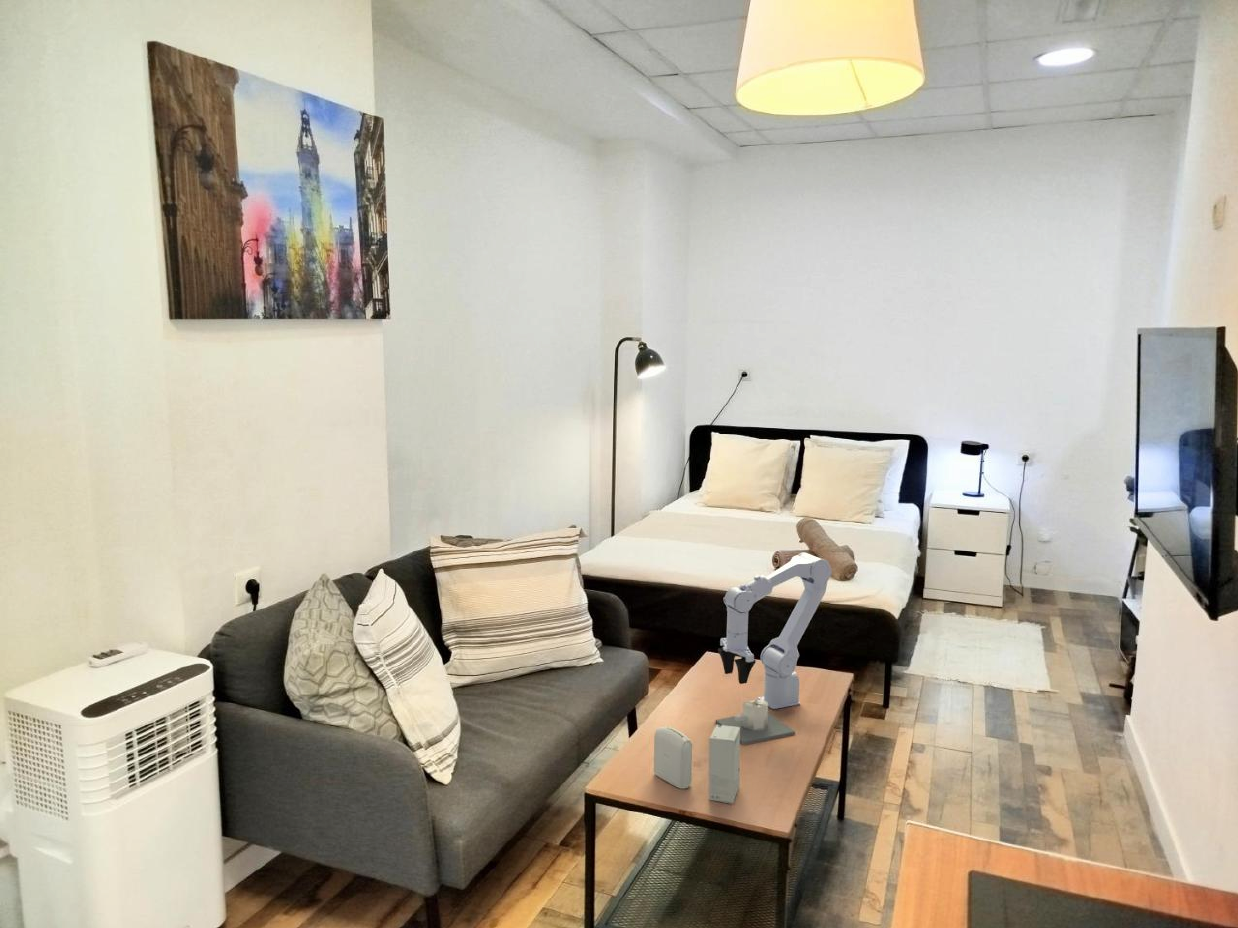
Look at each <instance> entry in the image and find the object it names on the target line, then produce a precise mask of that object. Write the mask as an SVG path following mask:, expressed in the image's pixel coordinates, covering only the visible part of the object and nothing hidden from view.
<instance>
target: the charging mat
mask: <svg viewBox="0 0 1238 928" xmlns="http://www.w3.org/2000/svg"><path fill="white" fill-rule="evenodd" d="M742 722H743V720H742V721H737V720H736V719H734V715H733V716H730V717H729V716H728V717H724V718H718V719H715V724H716V725H725V726H734V727H740V743H741V744H742V745H748V744H752V743H753V744H754V743H758V742H764V741H768V740H773V739H778V738H783V737H788V736H791V735H796V731H795V730H794V729H792V728H791V727H790V726H789V725H788V724H785V723H784V722H783V721H781V720H780V719H778V718H777V717H775V715H772V713H770V712H769V711H768V716H767V726H766V727H763V728H757V729H746V728H744V727H743V726H742Z"/></svg>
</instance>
